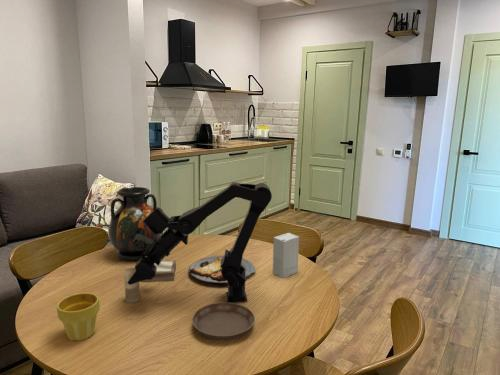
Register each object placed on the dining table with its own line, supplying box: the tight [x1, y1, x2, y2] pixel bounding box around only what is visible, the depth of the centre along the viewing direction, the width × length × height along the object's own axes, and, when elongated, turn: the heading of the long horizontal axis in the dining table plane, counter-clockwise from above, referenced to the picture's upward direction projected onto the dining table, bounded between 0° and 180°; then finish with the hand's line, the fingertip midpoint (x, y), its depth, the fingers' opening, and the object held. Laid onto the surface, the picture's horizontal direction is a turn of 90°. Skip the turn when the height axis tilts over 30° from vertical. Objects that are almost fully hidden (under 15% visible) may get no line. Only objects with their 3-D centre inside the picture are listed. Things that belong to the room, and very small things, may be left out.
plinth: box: [141, 260, 177, 283], centre depth 138 cm, size 11×11×3 cm
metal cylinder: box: [123, 267, 141, 304], centre depth 119 cm, size 4×4×10 cm
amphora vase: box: [107, 186, 163, 262], centre depth 155 cm, size 22×22×28 cm
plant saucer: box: [191, 302, 256, 342], centre depth 106 cm, size 18×18×3 cm
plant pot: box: [56, 292, 100, 341], centre depth 101 cm, size 10×10×10 cm
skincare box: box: [272, 232, 300, 279], centre depth 140 cm, size 8×6×15 cm
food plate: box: [188, 254, 256, 284], centre depth 141 cm, size 25×23×4 cm
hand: (131, 277), depth 119 cm, fingers open, 9 cm apart
